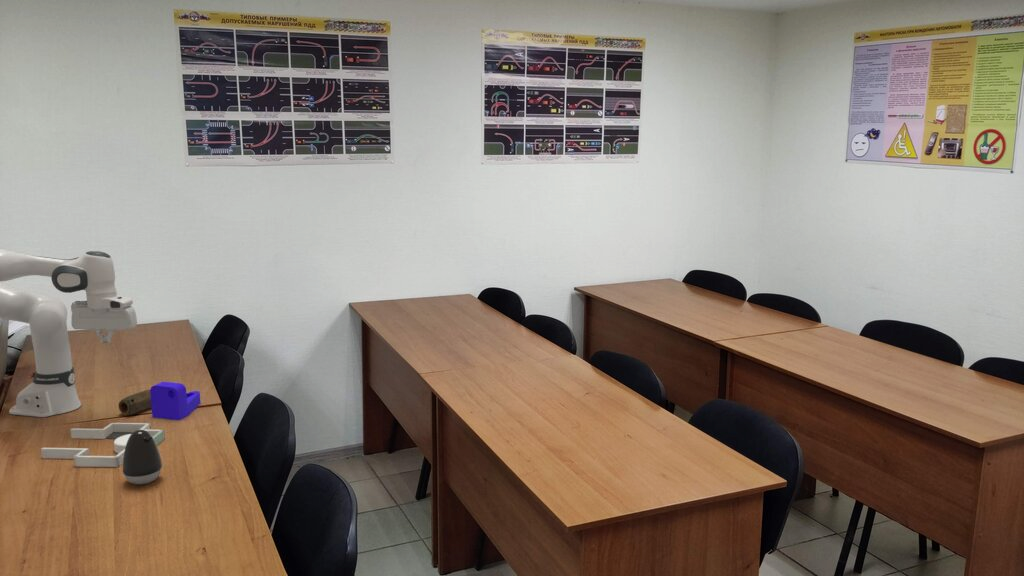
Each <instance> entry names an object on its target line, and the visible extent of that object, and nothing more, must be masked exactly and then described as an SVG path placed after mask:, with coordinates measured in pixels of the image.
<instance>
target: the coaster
mask: <svg viewBox="0 0 1024 576" xmlns="http://www.w3.org/2000/svg"><path fill="white" fill-rule="evenodd" d="M130 435H131V434H128V435H124V436H121V437H119V438H117V439H114V442H113V448H114V453H116V455H118V454H119V453H120V452H121V451H123V450H124V449H125V447H126V444H127V441H128V439H129V437H130Z"/></svg>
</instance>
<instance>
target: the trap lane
mask: <svg viewBox="0 0 1024 576" xmlns="http://www.w3.org/2000/svg"><path fill="white" fill-rule="evenodd" d="M137 430H145V431H147V432H148V433H149V434H150V435H151V436H152V438H153V439H154V441H155V443H156V445H157V446H158V445H159V444H161V442H162V441H164V440H165V439H166V436H165V435H166V434H165V429H152V423H150V422H149V423H147V422H110V423H108V424H107V425H106V426H104V428H77V427H76V428H73V427H71V429H70V436H71V437H70V438H71V439H89V440H92V439H95V440H98V439H99V440H100V439H101V440H116V439H117V438H119V437H121V436H124V435H128V434H132V433H133V432H134V431H137ZM89 449H90V448H84V447H83V448H82V447H81V448H80V447H79V448H78V447H68V448H67V447H41V448H40V452H41V459H55V460H56V459H59V460H60V459H62V460H63V459H64V460H65V459H66V460H70V459H71V460H73V465H74V467H77V468H78V467H81V468H82V467H85V468H87V467H88V468H90V467H92V468H93V467H94V468H96V467H97V468H119V467H120V466H121V465H123V456H124V451H125V449H124V450H123V451H121V452H120V453H119V454H116V455H90V450H89Z"/></svg>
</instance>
